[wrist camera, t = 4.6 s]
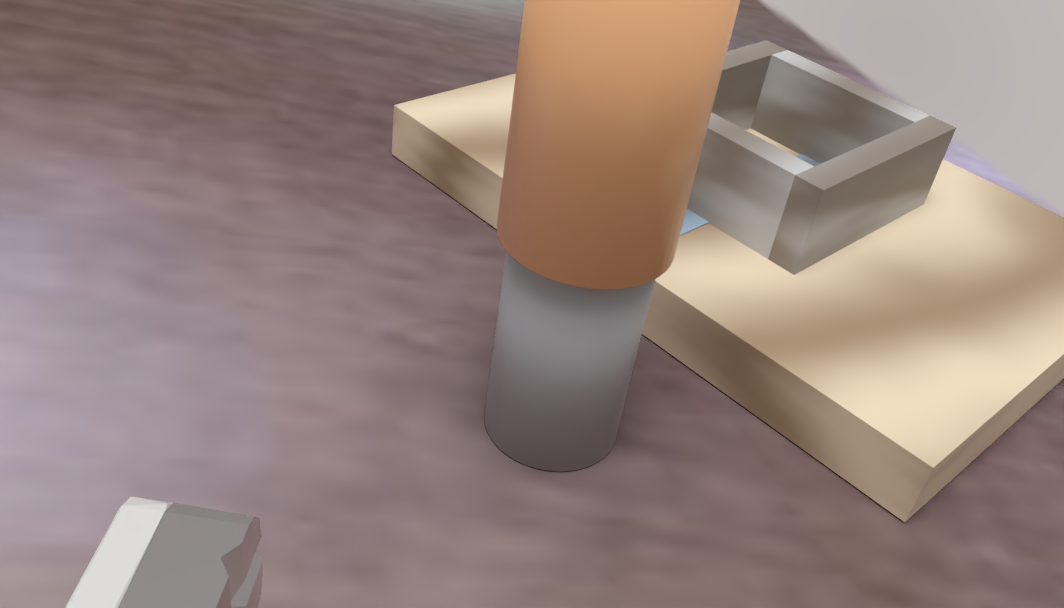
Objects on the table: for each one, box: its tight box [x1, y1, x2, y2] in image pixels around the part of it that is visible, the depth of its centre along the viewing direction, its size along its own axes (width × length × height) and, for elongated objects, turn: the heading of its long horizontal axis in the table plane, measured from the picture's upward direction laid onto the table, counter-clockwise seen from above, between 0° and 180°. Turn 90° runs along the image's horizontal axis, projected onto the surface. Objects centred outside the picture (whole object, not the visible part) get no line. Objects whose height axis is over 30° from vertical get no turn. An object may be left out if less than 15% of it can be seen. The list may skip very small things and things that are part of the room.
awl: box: [484, 0, 740, 472], centre depth 23 cm, size 4×4×14 cm
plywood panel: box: [392, 40, 1064, 522], centre depth 35 cm, size 22×16×5 cm
